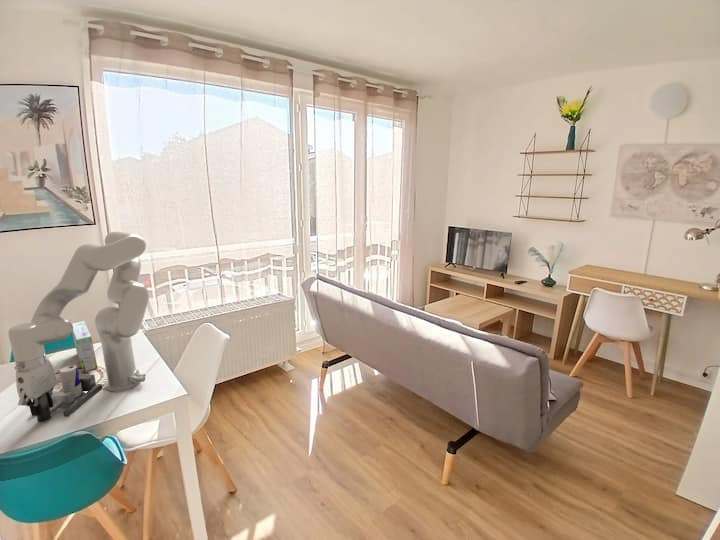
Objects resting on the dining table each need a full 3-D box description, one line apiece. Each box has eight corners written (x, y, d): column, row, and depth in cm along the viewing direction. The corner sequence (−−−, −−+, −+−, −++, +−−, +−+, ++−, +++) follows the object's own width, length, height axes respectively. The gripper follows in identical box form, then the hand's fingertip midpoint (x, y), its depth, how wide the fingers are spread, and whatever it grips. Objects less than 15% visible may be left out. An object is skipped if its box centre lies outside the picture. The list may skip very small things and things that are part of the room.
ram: (75, 404, 134) (70, 379, 132) (52, 422, 124) (46, 396, 122) (53, 403, 134) (47, 378, 132) (28, 422, 124) (21, 395, 122)
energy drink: (86, 393, 142) (81, 364, 139) (76, 401, 136) (70, 372, 133) (72, 393, 141) (66, 364, 138) (61, 402, 136) (55, 372, 133)
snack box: (75, 354, 171) (69, 323, 167) (90, 350, 175) (85, 320, 171) (82, 372, 156) (76, 339, 152) (98, 368, 160) (92, 335, 156)
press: (102, 388, 145) (99, 374, 143) (68, 416, 128) (64, 401, 127) (70, 387, 145) (67, 373, 143) (32, 416, 128) (28, 400, 127)
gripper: (19, 375, 113) (32, 428, 117) (63, 349, 129) (72, 397, 133) (-5, 374, 113) (8, 427, 117) (41, 349, 129) (52, 396, 133)
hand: (42, 410), depth 125 cm, fingers closed on ram, 3 cm apart
